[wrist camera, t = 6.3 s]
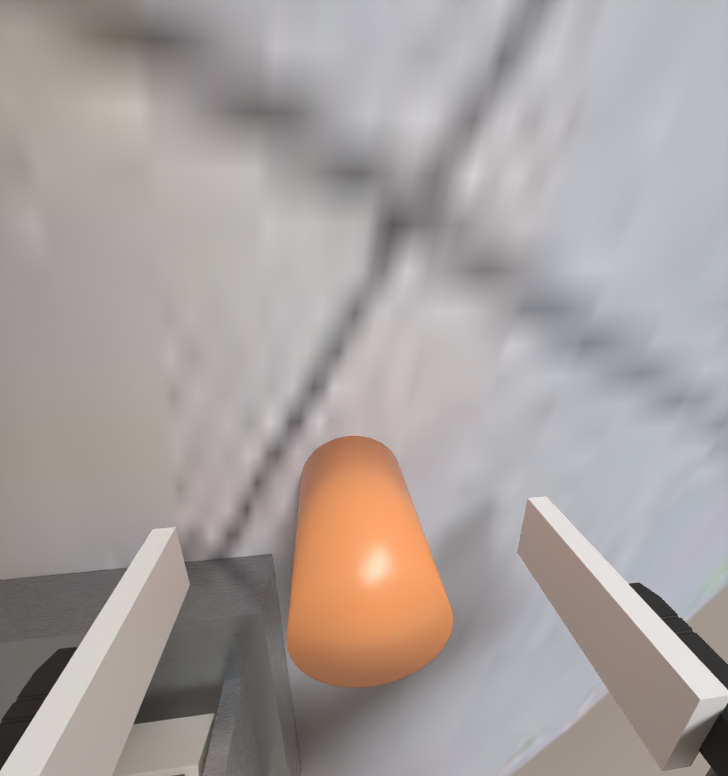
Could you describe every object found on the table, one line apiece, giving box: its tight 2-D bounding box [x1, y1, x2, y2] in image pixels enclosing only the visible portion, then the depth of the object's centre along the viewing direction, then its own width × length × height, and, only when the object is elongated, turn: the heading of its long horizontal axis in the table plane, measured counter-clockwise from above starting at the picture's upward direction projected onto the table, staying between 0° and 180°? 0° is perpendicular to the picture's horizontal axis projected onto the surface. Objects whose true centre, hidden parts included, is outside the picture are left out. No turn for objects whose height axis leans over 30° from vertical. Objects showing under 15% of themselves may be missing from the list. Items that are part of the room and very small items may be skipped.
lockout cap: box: [287, 436, 453, 688], centre depth 13 cm, size 5×5×7 cm
